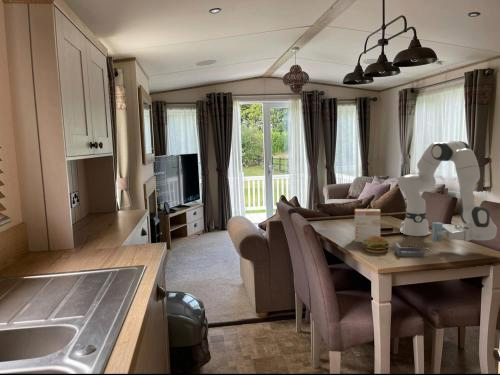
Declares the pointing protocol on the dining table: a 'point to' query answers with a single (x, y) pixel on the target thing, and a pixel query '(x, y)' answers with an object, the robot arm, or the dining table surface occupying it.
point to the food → (376, 244)
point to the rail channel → (408, 251)
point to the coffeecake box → (366, 223)
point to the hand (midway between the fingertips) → (435, 231)
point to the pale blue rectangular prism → (435, 231)
